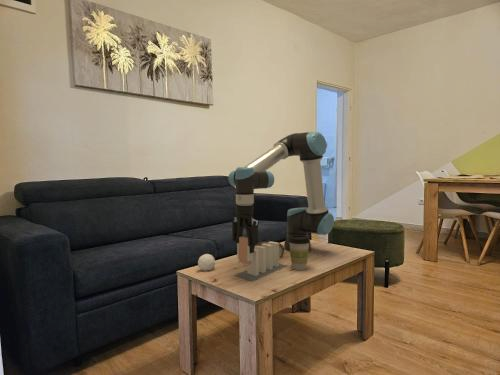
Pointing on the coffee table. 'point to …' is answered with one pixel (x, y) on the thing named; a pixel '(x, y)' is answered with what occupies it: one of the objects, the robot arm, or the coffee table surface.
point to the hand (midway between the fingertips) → (245, 258)
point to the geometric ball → (206, 262)
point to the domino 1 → (243, 250)
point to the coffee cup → (299, 251)
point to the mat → (252, 277)
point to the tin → (281, 248)
